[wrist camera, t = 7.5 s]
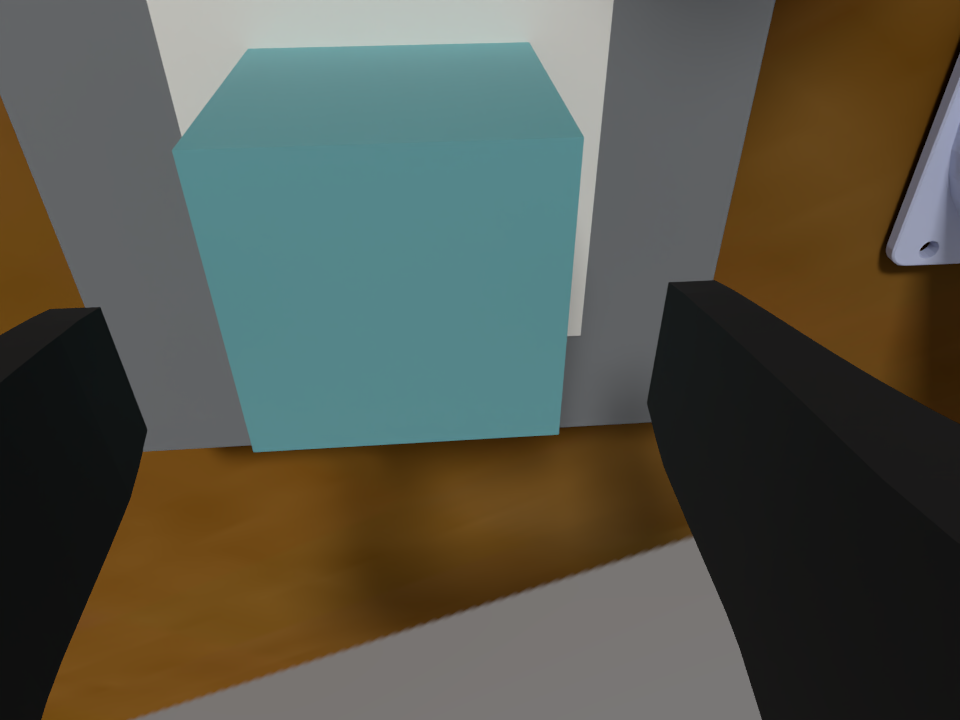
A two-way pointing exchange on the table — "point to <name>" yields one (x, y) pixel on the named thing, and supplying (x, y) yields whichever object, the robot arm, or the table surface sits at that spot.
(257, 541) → the table surface
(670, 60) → the white-inset grey tile
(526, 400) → the teal cube
